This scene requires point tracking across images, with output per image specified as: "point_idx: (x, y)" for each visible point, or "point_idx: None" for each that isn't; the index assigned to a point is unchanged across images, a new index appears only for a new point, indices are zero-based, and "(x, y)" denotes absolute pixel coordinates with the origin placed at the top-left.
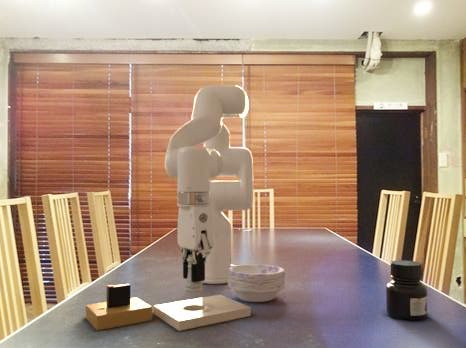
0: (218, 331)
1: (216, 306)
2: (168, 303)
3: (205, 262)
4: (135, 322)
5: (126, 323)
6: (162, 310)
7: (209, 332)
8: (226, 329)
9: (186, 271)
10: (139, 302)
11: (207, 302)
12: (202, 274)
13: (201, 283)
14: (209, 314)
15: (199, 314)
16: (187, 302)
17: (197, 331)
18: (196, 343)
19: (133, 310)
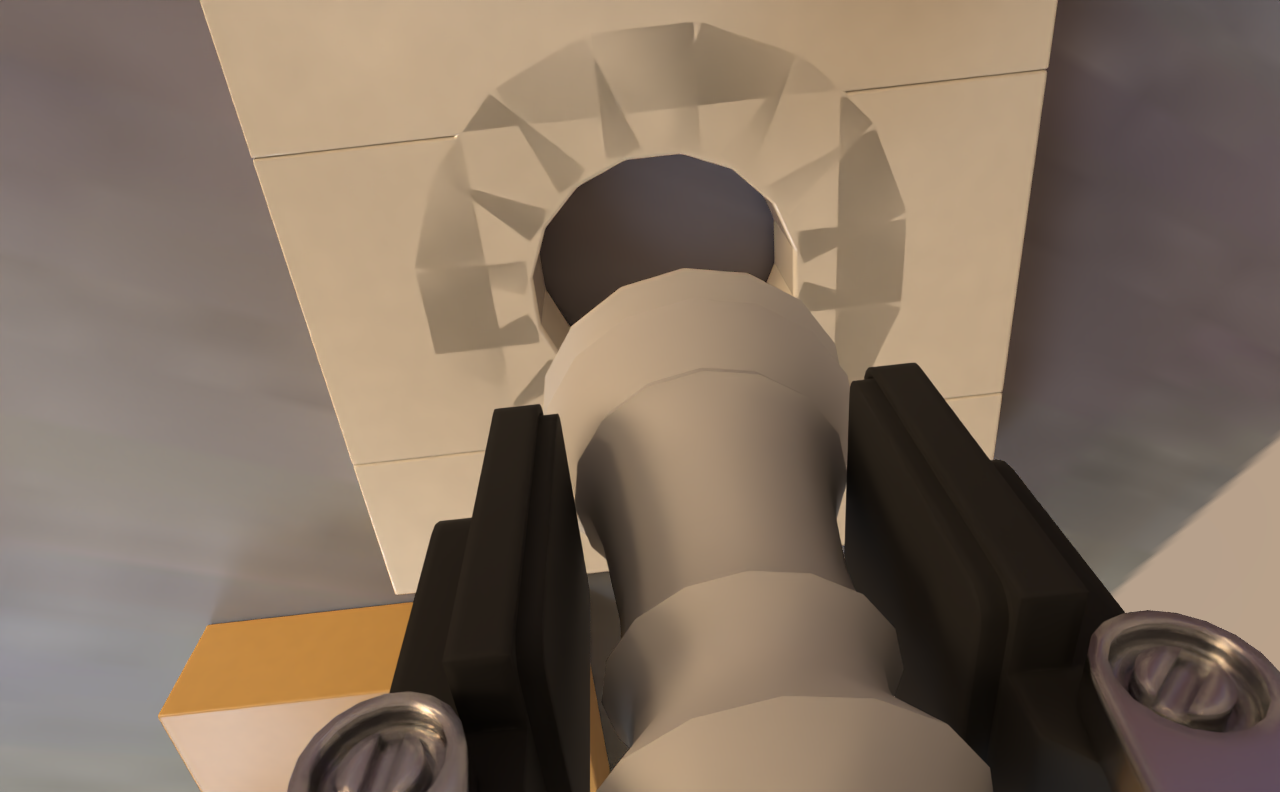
0: (1198, 203)
1: (760, 2)
2: (367, 471)
3: (1224, 637)
4: (593, 684)
5: (601, 734)
6: (598, 568)
7: (1156, 284)
8: (1216, 108)
9: (583, 664)
10: None
11: (511, 39)
12: (1021, 496)
13: (828, 367)
14: (999, 224)
15: (929, 318)
16: (403, 281)
17: (1059, 362)
18: (1267, 447)
19: (596, 777)
